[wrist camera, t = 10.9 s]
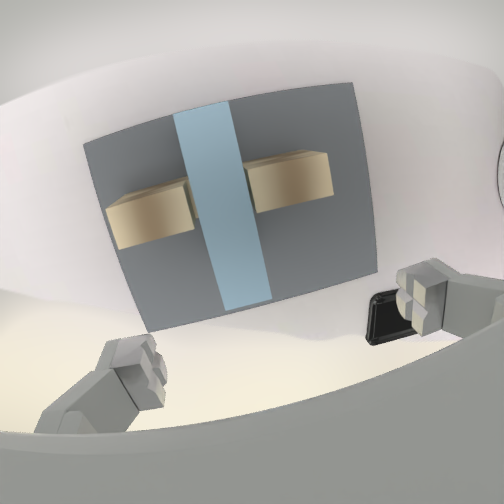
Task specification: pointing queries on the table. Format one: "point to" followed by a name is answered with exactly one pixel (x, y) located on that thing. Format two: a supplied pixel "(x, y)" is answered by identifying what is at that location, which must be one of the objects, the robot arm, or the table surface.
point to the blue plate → (223, 203)
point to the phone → (386, 320)
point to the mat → (268, 222)
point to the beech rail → (183, 205)
